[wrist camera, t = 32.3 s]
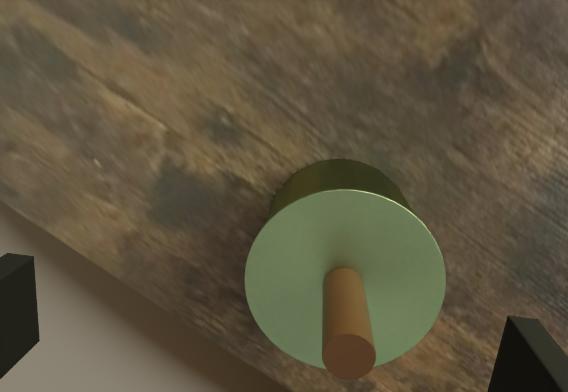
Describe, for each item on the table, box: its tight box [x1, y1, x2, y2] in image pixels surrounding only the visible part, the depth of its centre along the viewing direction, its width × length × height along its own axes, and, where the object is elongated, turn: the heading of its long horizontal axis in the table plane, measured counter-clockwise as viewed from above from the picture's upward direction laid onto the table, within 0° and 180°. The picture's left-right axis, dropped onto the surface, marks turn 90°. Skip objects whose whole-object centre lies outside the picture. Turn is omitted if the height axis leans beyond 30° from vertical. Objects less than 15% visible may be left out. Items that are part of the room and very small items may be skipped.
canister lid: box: [244, 188, 446, 379], centre depth 32 cm, size 16×16×10 cm
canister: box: [266, 159, 413, 222], centre depth 42 cm, size 15×15×12 cm
